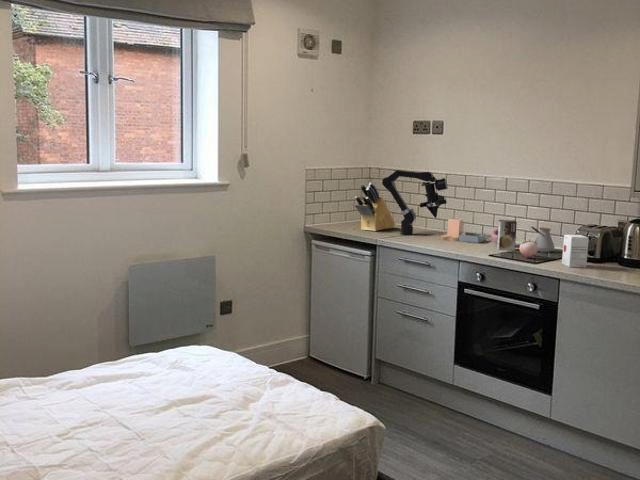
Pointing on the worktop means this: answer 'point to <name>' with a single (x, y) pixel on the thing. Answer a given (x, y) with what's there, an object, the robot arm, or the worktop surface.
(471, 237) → the slate tray
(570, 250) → the supplement box
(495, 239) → the mortar and pestle
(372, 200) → the knife block
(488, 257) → the worktop surface
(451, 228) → the terracotta block
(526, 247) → the decorative fruit
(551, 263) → the worktop surface
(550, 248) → the coffee pot
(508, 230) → the coffee box
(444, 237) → the tan wooden slab
